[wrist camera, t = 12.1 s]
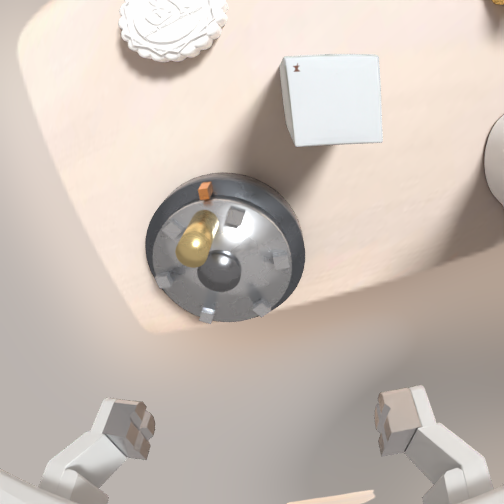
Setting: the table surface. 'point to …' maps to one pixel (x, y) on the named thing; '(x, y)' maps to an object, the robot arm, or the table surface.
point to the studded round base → (222, 259)
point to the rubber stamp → (498, 2)
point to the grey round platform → (241, 189)
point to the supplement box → (332, 99)
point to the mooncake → (171, 27)
